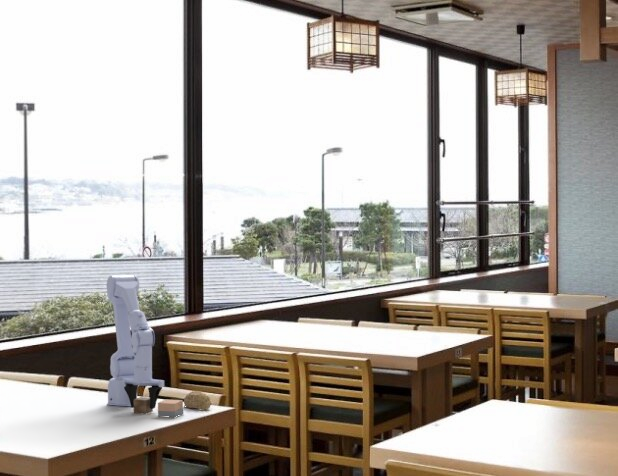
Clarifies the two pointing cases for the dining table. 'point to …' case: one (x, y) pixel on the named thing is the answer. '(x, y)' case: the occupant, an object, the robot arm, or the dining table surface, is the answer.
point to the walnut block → (142, 405)
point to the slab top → (170, 405)
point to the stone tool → (197, 400)
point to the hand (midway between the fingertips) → (143, 407)
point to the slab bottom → (170, 413)
